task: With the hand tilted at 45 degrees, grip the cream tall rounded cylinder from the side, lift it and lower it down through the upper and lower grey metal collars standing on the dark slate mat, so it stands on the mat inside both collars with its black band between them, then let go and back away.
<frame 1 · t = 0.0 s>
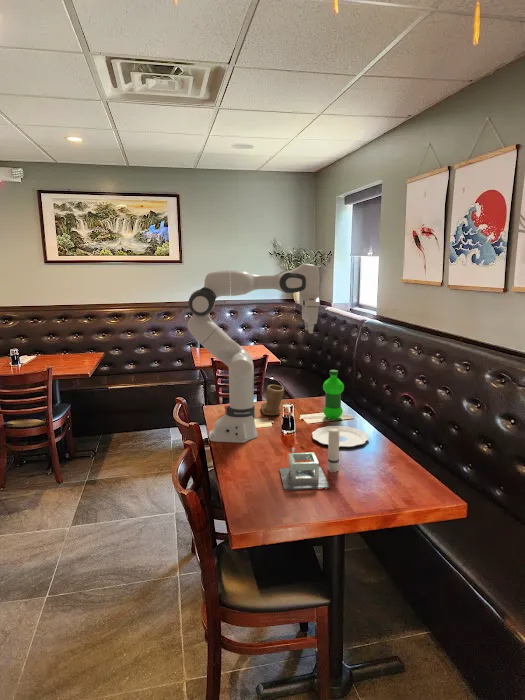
hand: (308, 331, 199), 48 cm above the table, tool pointing down, fingers open, 8 cm apart
plastic bottle: (332, 418, 229), on the table
sauce bottle: (240, 410, 243), on the table
cream tall rounded cylinder: (333, 470, 170), on the table
stone cup: (272, 412, 239), on the table
collar holder: (303, 479, 163), on the table
plate: (339, 439, 201), on the table
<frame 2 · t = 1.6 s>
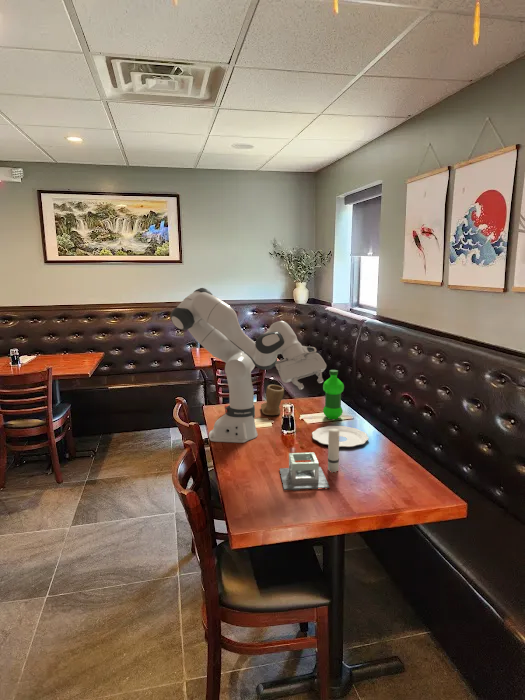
hand: (311, 385, 171), 32 cm above the table, tool tilted 45°, fingers open, 8 cm apart
nothing on the table moved.
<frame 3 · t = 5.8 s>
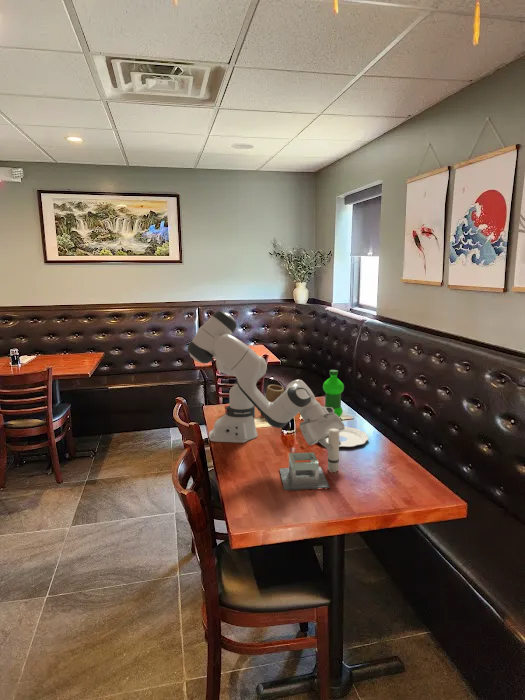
hand: (334, 447, 168), 9 cm above the table, tool tilted 45°, fingers closed on cream tall rounded cylinder, 4 cm apart
cream tall rounded cylinder: (333, 470, 170), on the table, touching gripper
everything else where it was.
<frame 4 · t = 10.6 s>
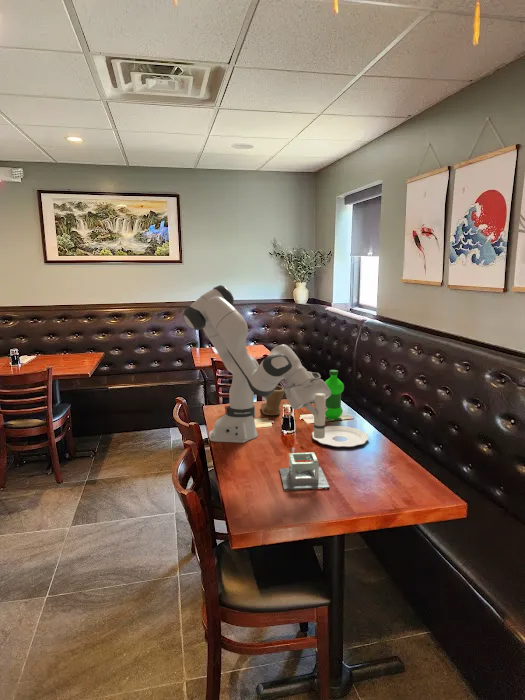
hand: (320, 412, 162), 24 cm above the table, tool tilted 45°, fingers closed on cream tall rounded cylinder, 4 cm apart
cream tall rounded cylinder: (319, 436, 164), point 15 cm above the table, touching gripper
everything else where it was.
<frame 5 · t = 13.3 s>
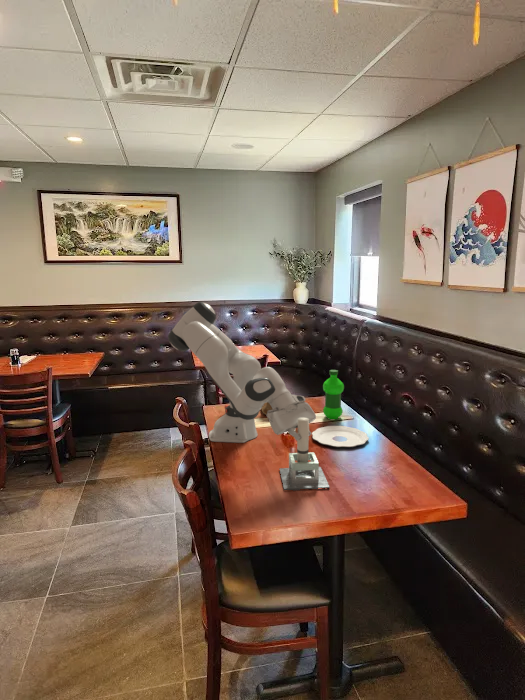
hand: (304, 437, 159), 16 cm above the table, tool tilted 45°, fingers closed on cream tall rounded cylinder, 4 cm apart
cream tall rounded cylinder: (302, 461, 161), point 7 cm above the table, touching gripper
everything else where it was.
when the fingers open (12 cm above the table, at t = 15.5 s): cream tall rounded cylinder drops 1 cm, resting on collar holder.
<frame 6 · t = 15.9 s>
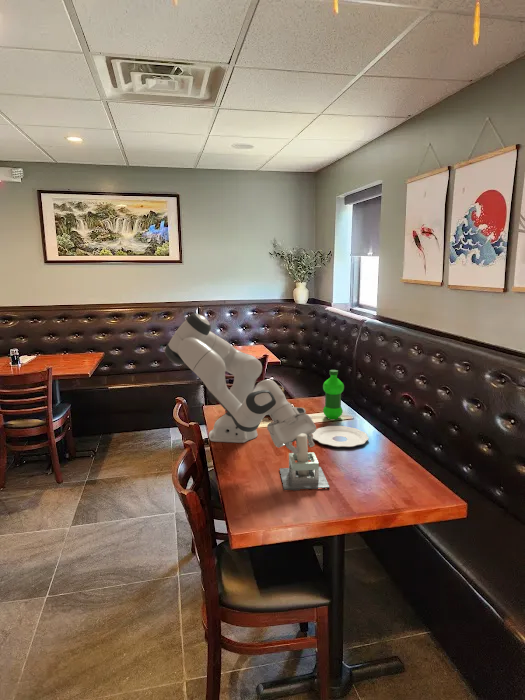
hand: (304, 449, 160), 12 cm above the table, tool tilted 45°, fingers open, 7 cm apart
cream tall rounded cylinder: (303, 476, 163), point 1 cm above the table, touching collar holder
everything else where it was.
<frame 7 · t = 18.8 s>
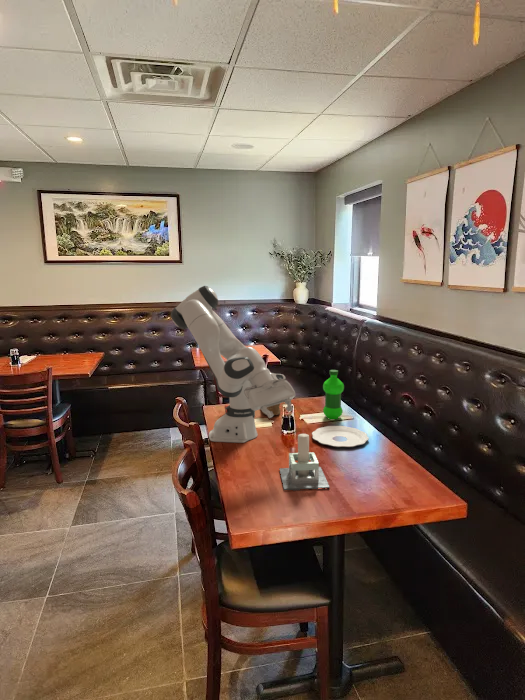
hand: (281, 413, 166), 23 cm above the table, tool tilted 45°, fingers open, 8 cm apart
nothing on the table moved.
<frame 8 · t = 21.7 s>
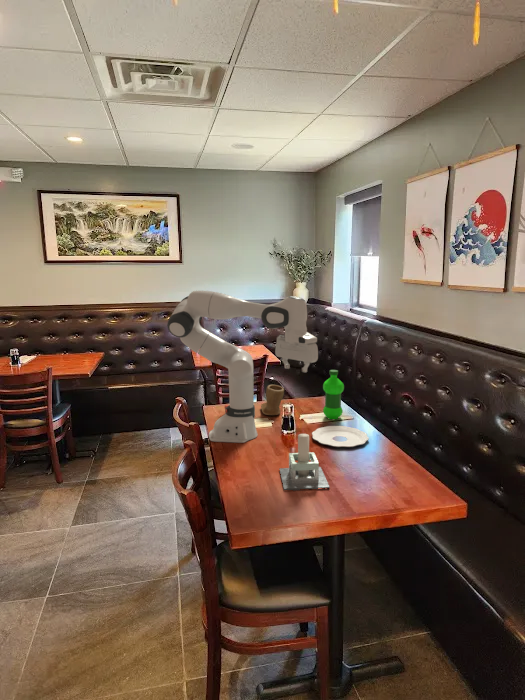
hand: (295, 370, 181), 35 cm above the table, tool pointing down, fingers open, 8 cm apart
nothing on the table moved.
at the end: cream tall rounded cylinder 0.0 cm off-centre on the collar holder, point 0.8 cm above the collar holder's base; cream tall rounded cylinder tilted 0°; the gripper is holding nothing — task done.
